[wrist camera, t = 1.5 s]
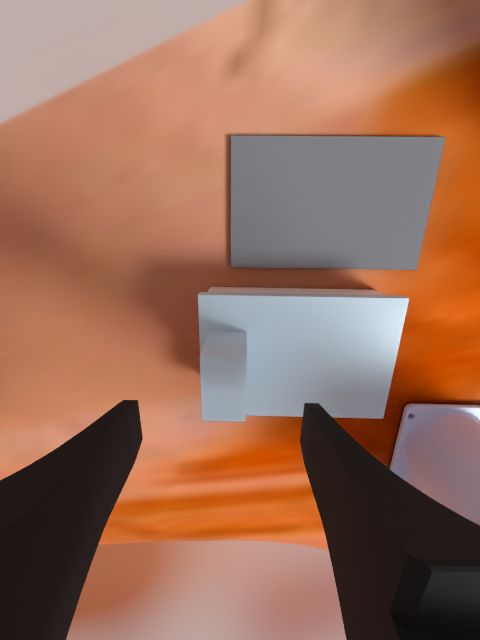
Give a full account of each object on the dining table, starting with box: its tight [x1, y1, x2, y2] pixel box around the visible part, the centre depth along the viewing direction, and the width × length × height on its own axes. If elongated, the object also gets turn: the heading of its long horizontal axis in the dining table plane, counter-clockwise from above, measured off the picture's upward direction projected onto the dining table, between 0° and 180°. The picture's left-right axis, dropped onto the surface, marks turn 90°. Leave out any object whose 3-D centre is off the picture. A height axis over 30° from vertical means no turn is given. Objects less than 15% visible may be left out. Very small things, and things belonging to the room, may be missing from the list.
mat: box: [231, 136, 445, 270], centre depth 18 cm, size 8×13×1 cm, turn 89°
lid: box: [198, 292, 409, 422], centre depth 17 cm, size 9×13×4 cm
